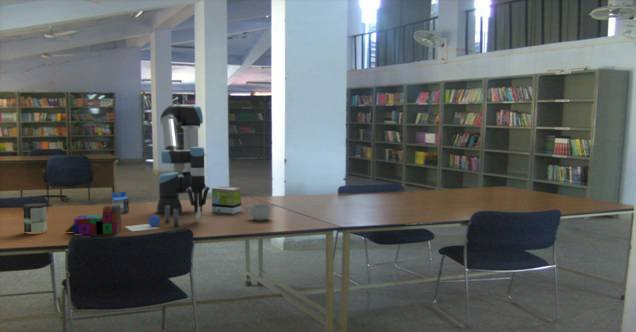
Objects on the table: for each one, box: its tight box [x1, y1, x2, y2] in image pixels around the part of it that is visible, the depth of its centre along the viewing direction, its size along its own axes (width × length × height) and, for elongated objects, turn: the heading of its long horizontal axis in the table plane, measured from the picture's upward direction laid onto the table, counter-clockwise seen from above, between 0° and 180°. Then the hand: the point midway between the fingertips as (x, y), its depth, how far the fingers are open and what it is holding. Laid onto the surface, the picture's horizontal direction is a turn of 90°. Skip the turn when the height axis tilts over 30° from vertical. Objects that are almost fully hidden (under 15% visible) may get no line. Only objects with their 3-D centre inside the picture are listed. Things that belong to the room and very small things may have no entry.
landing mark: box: [124, 223, 160, 232], centre depth 285 cm, size 14×14×1 cm
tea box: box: [211, 186, 242, 215], centre depth 333 cm, size 15×10×15 cm
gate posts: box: [164, 206, 180, 228], centre depth 294 cm, size 16×3×9 cm, turn 35°
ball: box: [147, 214, 161, 227], centre depth 288 cm, size 6×6×6 cm
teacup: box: [244, 203, 271, 222], centre depth 309 cm, size 14×11×8 cm
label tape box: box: [111, 191, 130, 214], centre depth 328 cm, size 9×4×12 cm, turn 131°
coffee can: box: [22, 202, 48, 232], centre depth 272 cm, size 10×10×14 cm
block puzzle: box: [65, 204, 122, 236], centre depth 275 cm, size 25×17×14 cm
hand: (198, 217), depth 303 cm, fingers closed
